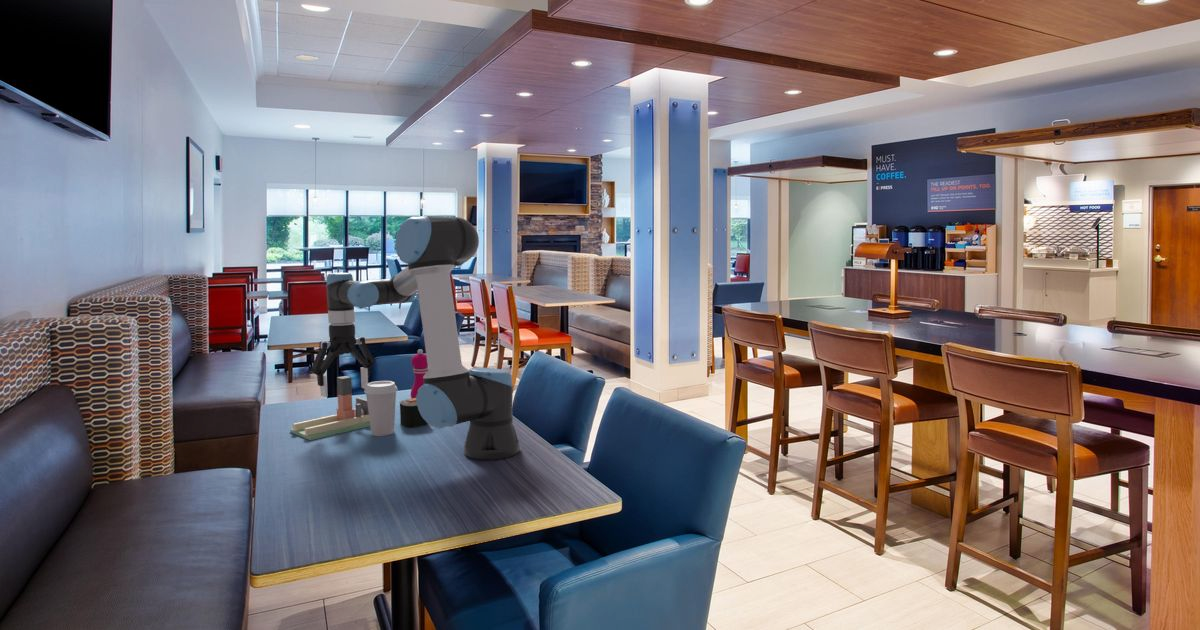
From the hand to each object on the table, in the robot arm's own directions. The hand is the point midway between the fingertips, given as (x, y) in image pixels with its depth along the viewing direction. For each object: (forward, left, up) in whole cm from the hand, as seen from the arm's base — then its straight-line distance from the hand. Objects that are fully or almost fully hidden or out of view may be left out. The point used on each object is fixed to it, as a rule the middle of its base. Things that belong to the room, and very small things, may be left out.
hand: (345, 392), depth 219 cm
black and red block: (0, 0, -9) cm, 9 cm away
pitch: (0, +4, -11) cm, 11 cm away
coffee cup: (-15, -3, -11) cm, 19 cm away
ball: (0, -4, -8) cm, 9 cm away
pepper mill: (+2, -29, -11) cm, 31 cm away
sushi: (-14, -15, -11) cm, 23 cm away
